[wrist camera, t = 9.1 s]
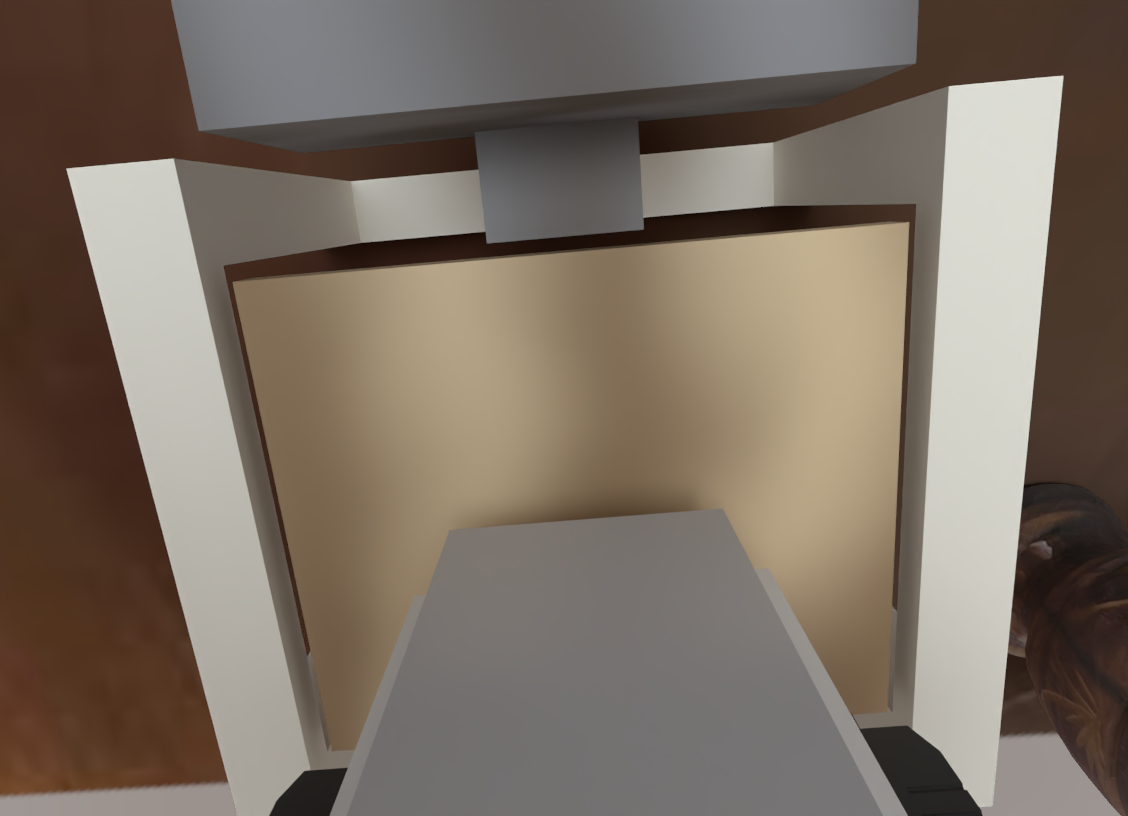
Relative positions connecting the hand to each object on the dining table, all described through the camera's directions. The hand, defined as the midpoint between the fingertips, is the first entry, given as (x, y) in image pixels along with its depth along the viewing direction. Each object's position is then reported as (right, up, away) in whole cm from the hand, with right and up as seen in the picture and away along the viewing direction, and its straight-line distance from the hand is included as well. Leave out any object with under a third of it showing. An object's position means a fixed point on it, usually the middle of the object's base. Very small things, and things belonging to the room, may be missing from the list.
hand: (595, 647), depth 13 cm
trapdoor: (0, +6, +2) cm, 6 cm away
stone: (0, 0, 0) cm, 0 cm away
